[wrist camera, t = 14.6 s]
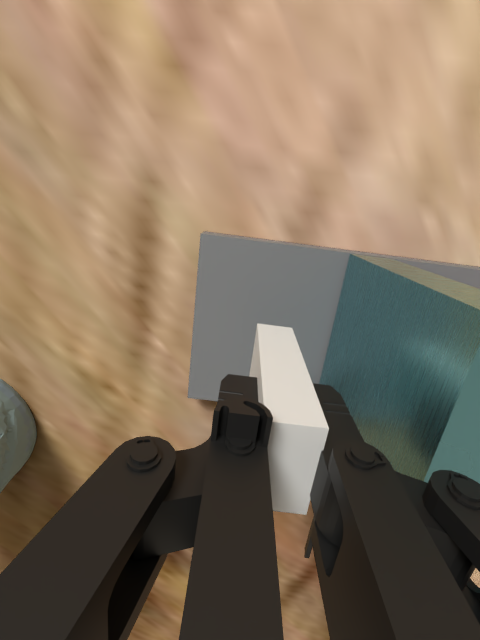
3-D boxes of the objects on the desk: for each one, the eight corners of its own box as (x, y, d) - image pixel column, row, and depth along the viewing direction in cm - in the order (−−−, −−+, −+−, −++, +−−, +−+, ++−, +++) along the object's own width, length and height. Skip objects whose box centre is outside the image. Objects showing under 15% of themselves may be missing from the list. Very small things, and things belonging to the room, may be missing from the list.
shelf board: (656, 289, 17) (1253, 407, 7) (575, 429, 20) (908, 653, 10) (204, 231, 16) (137, 267, 6) (192, 383, 19) (133, 570, 9)
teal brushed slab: (392, 258, 15) (591, 327, 6) (346, 419, 18) (438, 614, 9) (350, 253, 15) (491, 314, 6) (311, 415, 18) (371, 607, 9)
